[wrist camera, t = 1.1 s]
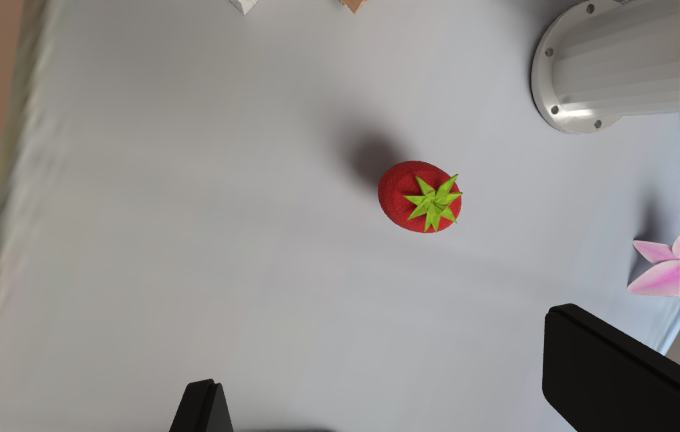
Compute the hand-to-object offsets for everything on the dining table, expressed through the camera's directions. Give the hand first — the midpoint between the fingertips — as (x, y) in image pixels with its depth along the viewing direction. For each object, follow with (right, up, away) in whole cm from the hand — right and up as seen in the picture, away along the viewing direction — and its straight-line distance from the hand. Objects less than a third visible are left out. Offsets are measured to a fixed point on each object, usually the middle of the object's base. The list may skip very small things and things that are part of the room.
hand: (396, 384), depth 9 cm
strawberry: (+4, +8, +25) cm, 26 cm away
